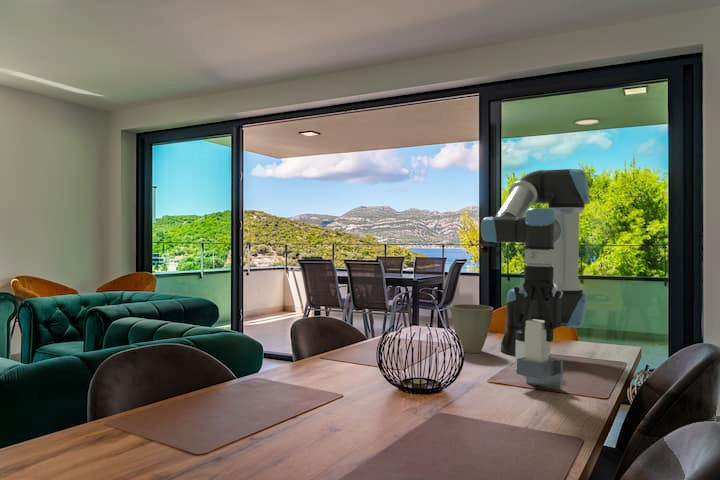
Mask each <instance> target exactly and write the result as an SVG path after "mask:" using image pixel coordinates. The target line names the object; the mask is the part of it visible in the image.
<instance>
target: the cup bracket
mask: <svg viewBox="0 0 720 480" xmlns="http://www.w3.org/2000/svg"><path fill="white" fill-rule="evenodd" d="M563 372H564V360H563V359H560V358H559V359H558V358H552V357H549V361H548V362H544V363H538V362H533V361H528V360H525V357H523V358H519V359H517V371H516V374H517V375H520V376H525V377H526V379H525V384H530V385H532V386H533V385H534V386H539V387H543V388H547V389H551V388H552V390H555V389H556V391H560V390H561V391H562V390H563V377H564V375H563V374H564V373H563Z"/></svg>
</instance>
